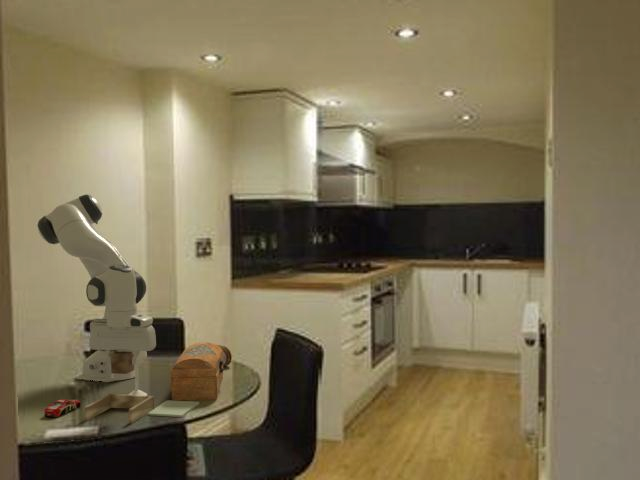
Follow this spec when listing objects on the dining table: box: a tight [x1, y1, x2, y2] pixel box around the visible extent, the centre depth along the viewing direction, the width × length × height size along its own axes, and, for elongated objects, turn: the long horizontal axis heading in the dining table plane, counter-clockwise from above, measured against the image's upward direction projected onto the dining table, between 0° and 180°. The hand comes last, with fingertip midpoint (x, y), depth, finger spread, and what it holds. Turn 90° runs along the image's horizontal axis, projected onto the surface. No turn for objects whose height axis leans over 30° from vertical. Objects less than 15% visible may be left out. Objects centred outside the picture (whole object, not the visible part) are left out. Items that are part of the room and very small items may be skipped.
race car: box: [44, 399, 81, 418], centre depth 192 cm, size 13×5×4 cm, turn 165°
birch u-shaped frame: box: [84, 393, 155, 424], centre depth 189 cm, size 15×14×4 cm
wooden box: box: [169, 342, 225, 401], centre depth 219 cm, size 30×16×14 cm, turn 4°
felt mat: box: [147, 399, 200, 418], centre depth 194 cm, size 11×14×1 cm
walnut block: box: [111, 350, 134, 374], centre depth 188 cm, size 5×5×6 cm
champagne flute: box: [127, 351, 148, 396], centre depth 210 cm, size 7×7×24 cm
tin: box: [216, 344, 233, 368], centre depth 254 cm, size 15×3×8 cm, turn 58°
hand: (122, 364), depth 188 cm, fingers closed on walnut block, 5 cm apart
